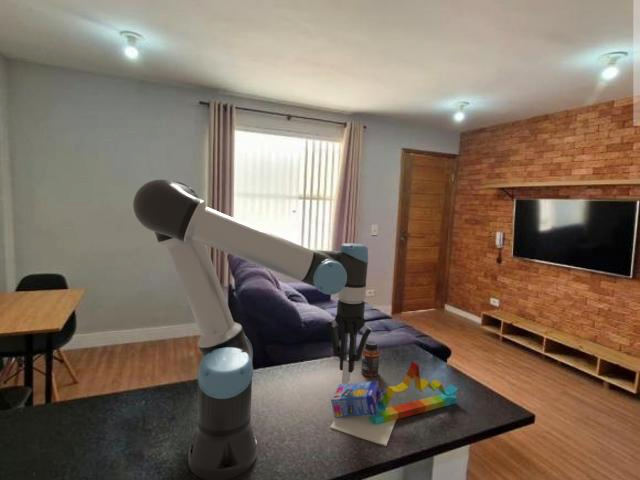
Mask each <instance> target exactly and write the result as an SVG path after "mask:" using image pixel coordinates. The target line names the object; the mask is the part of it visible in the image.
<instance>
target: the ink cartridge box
mask: <svg viewBox="0 0 640 480" xmlns="http://www.w3.org/2000/svg"><path fill="white" fill-rule="evenodd" d="M385 392H386V387H384V388H383V389H381V390H380V384H379V381H378V380H371V381H364V382H363V381H361V382H352V383H351V382H350V383H348V384H347V385H346V384H343V383H341V384H338V386H337V388H336V389H335V391H334V392H333V395H332V396H331V399H330V402H331V408H332V412H333V417H334V419H336V418H342V417H353V416H365V415H377V413H378V411H377V408H378V406H379V403H380V401H381V400H382V398H383V396H384V394H385Z"/></svg>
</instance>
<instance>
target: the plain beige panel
mask: <svg viewBox="0 0 640 480" xmlns="http://www.w3.org/2000/svg"><path fill="white" fill-rule="evenodd" d="M369 416H370V415H365V416H353V417H342V418H334V420H333V422H332V424H330V426H329V428H330V429H333V430H334V431H339V432H341V433H345V434H347V435H350V436H354V437H357V438H359V439H363V440H366V441H368V442H369V441H370V442H372V443H375V444H378V445H381V446H384V447H387V445H388V443H389V440H390V437H391V436H392V435H391V434H392V433H393V430H394V427H395V424H396V421H397V419H396V420H392V421H388V422H385V423H381V424H377V425H375V424H374V423H373V422H372V421H371V420H370V419H369Z"/></svg>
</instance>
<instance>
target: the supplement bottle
mask: <svg viewBox="0 0 640 480" xmlns="http://www.w3.org/2000/svg"><path fill="white" fill-rule="evenodd" d="M379 363H380V349H379V348H378V342H377V341H375V340H367V342H366V345H365V348H364V351H363V354H362V357H361V372H360V373H361V374H363V376H366V377H376V376H377V375H379V367H380V366H379V365H380V364H379Z"/></svg>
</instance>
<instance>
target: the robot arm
mask: <svg viewBox="0 0 640 480" xmlns="http://www.w3.org/2000/svg"><path fill="white" fill-rule="evenodd" d="M132 205H133V211H134V215H135V217H136V218H137V221H138V222H139V223H140V224H141V225H142V226H143V227H144V228H146V229H147V230H149V231H152V232H154V234H155V237H156V239H157V242H158V244H160V245H162V246H164V247H166V248H167V249H168V252H169V254H170V258H171V259H172V262H173V264H174V267H175V270H176V273H177V275H178V278H179V280H180V283H181V286H182V288H183V291H184V293H185V296H186V298H187V301H188V304H189V307H190V309H191V311H192V315H193V317H194V320H195V322H196V325H197V328H198V330H199V333H200V337H199V340H198V341H197V347H198V349H199V351H200V354H201V356H202V358H201V361H200V362H199V365H198V366H199V367H198V370H197V385H198V386H197V387H198V388H197V393H198V394H197V425H196V429H195V432H194V435H193V438H192V440H191V443H190V445H189V449H188V468H189V469H190V471H191V473H193V474H194V475H195V476H196V477H198V478H200V479H203V480H231V479H234V478H237V477H239V476H241V475H243V473H245V472H247V471H248V470H250V468H251V467H252V466H253V465H254V463H255V461H256V459H257V454H258V441H257V437H256V435H255V433H254V429H253V426H252V421H251V416H252V414H251V413H252V390H253V388H252V387H253V375H254V366H253V358H254V351H253V346H252V343H251V342H250V339H249V338H248V337H247V336H246V334H245V331H244V329H243V326H242V325H241V324H240V323H238V322H235V321H234V319H233V316H232V313H231V310H230V307H229V304H228V302H227V299H226V297H225V294H224V291H223V288H222V286H221V283H220V280H219V277H218V275H217V272H216V269H215V266H214V264H213V261H212V258H211V255H210V252H209V250H208V247H211V248H213V249H216V250H218V251H221V252H223V253H227V254H229V255H230V256H231V255H232V256H234V257H236V258H239V259H242V260H245V261H248V262H250V263H253V264H255V265H258V266H261V267H262V268H266V269H268V270H271V271H273V272H276V273H278V274H281V275H284V276H285V277H286V276H287V277H289V278H292V279H294V280H297V281H300V282H301V283H304V284H306V285H309V286H312V287H314V288H315V289H317V291H318V292H320V293H322V294H324V295H329V296H330V295H332V296H333V295H336V294H337V298H338V300H337V305H336V307H337V308H336V315H335V316H334V318H333V319H329V321H327V322H326V325H327V327H328V329H329V334H330V339H331V344H332V345H331V346H332V351H333V356H334V357H337V358H338V359H339V370H340V371H341V372H342V373H341V374H342V377H341V384H346V385H347V384H349V382H351V374H353V371H354V370H355V362H359V361H360V360H361V359H362V354H363V351H364V348H365V346H366V342H367V341H368V339H369V336H370V334H371V333H372V332H373V331H374V328H373V327H372V326H369V325H368V324H367V323H366V320H365V308H366V307H365V306H366V303H365V300H366V291H367V276H368V265H369V249H368V247H367V245H364V244H362V243H352V242H349V243H346V242H344V243H342V244H341V246H340V249H339V250H317V249H316V250H315V249H314V250H313V249H309V248H307V247H304V246H302V245H300V244H297V243H294V242H292V241H290V240H287V239H285V238H282V237H280V236H278V235H276V234H273V233H270V232H268V231H266V230H264V229H261V228H258V227H256V226H253V225H251V224H249V223H246V222H244V221H241V220H239V219H237V218H234V217H231V216H229V215H227V214H225V213H222V212H219V211H218V210H216V209H213V208H211V207H208V205H206V202H205V200H203V199H201V198H200V197H199V196H198V194H196V192H195V190H193V189H192V188H191V187H190V186H189V185H187V184H186V183H185V184H184V183H183V182H180V181H175V180H168V179H162V178H161V179H159V178H158V179H154V180H151V181H147V182H146V183H144V184H143V185H142V186H141V187H140V188H139V189H138V190H137V192H136V193H135V195H134V197H133V202H132ZM207 246H208V247H207ZM337 326H338V328H339V330H340V337H339V333H338V328H337ZM361 330H362V336H361V339H360V343H359V345H358V349H357V336H358V333H359V332H360V331H361ZM348 339H349V340H348ZM348 341H349V348H348ZM348 349H349V350H348ZM347 356H348V357H347Z"/></svg>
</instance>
